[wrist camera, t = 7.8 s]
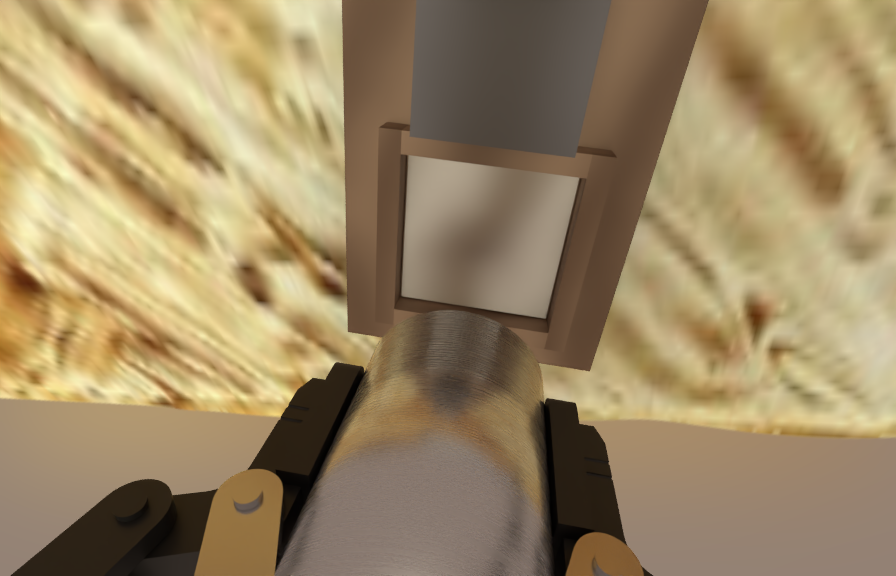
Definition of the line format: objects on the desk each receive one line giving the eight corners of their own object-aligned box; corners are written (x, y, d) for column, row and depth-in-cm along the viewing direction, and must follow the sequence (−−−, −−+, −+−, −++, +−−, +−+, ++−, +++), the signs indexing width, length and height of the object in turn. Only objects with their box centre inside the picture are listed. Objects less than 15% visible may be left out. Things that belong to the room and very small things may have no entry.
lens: (560, 326, 12) (607, 683, 5) (525, 457, 14) (529, 809, 8) (371, 296, 12) (201, 597, 6) (369, 429, 15) (250, 745, 8)
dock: (743, -144, 16) (956, -313, 8) (587, 358, 27) (613, 491, 19) (350, -174, 17) (203, -349, 9) (354, 320, 28) (289, 432, 20)
